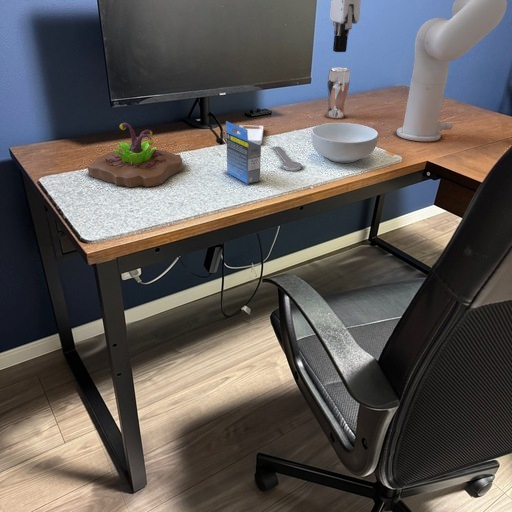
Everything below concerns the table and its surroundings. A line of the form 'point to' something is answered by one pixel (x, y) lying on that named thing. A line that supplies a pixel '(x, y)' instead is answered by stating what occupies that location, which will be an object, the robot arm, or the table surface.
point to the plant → (136, 163)
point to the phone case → (254, 134)
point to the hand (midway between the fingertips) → (339, 51)
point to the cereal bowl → (344, 141)
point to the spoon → (287, 161)
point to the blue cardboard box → (242, 155)
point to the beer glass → (337, 91)
